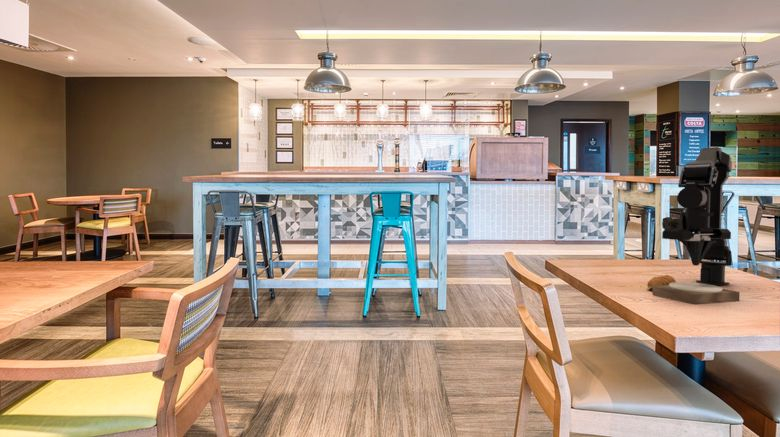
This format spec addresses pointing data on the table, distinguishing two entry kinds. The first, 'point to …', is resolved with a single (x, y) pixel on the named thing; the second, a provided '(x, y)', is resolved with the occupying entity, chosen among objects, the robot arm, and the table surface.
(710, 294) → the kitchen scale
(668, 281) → the pastry
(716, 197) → the robot arm
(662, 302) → the table surface
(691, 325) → the table surface
